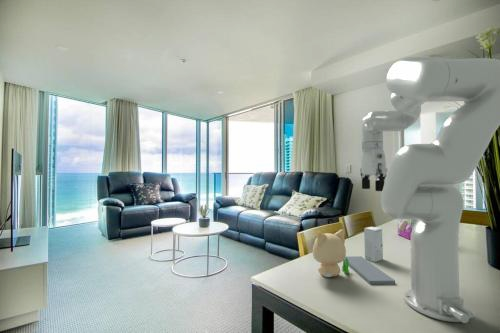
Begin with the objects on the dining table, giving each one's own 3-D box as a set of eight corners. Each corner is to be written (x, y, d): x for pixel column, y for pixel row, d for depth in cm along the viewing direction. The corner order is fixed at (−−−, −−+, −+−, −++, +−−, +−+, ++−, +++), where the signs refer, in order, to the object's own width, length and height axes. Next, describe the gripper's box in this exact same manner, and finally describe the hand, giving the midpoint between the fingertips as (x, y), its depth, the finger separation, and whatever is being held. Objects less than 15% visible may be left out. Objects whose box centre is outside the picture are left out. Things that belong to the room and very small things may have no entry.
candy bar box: (397, 234, 124) (396, 204, 125) (406, 234, 124) (405, 204, 125) (411, 241, 113) (410, 208, 114) (421, 241, 113) (420, 208, 114)
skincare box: (375, 262, 86) (375, 230, 87) (363, 258, 90) (363, 227, 90) (383, 259, 90) (383, 228, 90) (372, 255, 93) (371, 226, 94)
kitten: (338, 265, 83) (338, 224, 84) (359, 277, 74) (359, 231, 74) (302, 271, 78) (302, 227, 79) (320, 284, 69) (320, 235, 69)
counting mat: (395, 283, 70) (395, 280, 70) (369, 284, 69) (369, 280, 69) (361, 258, 90) (361, 256, 90) (341, 259, 89) (341, 256, 89)
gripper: (395, 144, 82) (396, 192, 82) (369, 149, 100) (369, 188, 100) (375, 144, 82) (375, 192, 82) (352, 149, 100) (352, 188, 99)
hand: (372, 189), depth 91 cm, fingers open, 9 cm apart
